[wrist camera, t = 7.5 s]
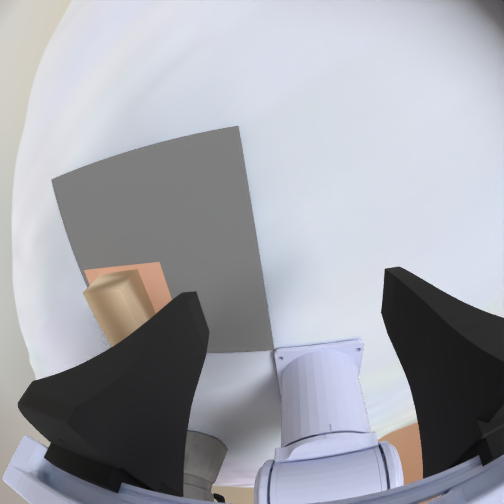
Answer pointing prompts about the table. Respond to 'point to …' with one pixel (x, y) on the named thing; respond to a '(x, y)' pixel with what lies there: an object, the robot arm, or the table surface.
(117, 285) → the card box
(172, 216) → the mat
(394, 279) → the robot arm
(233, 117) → the table surface
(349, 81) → the table surface
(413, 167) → the table surface
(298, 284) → the table surface
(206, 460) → the coffeepot
